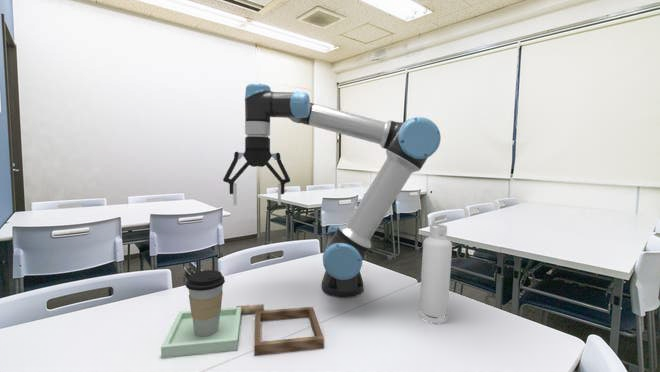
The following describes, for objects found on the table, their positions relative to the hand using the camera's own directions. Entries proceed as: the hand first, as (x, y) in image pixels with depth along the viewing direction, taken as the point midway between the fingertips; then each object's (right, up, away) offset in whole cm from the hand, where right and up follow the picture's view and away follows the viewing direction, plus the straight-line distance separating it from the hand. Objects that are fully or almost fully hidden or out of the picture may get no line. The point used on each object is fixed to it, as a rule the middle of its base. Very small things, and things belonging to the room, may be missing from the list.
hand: (257, 204), depth 100 cm
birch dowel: (-1, -31, -3) cm, 31 cm away
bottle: (+54, -34, -4) cm, 64 cm away
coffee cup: (-10, -32, -16) cm, 38 cm away
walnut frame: (+11, -34, -15) cm, 38 cm away
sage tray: (-10, -33, -16) cm, 38 cm away
